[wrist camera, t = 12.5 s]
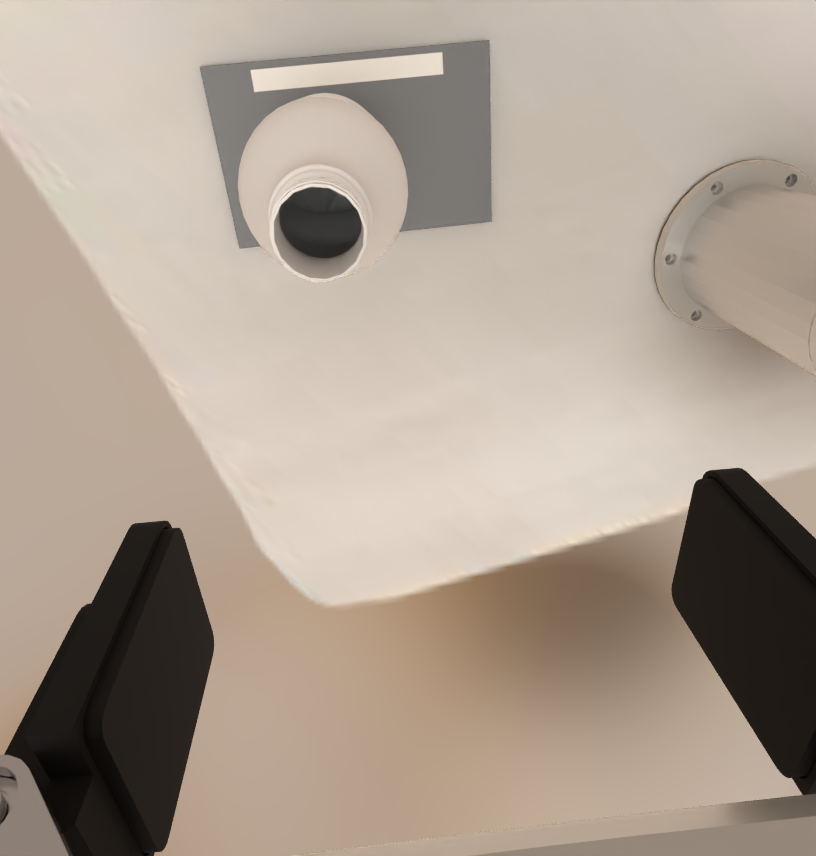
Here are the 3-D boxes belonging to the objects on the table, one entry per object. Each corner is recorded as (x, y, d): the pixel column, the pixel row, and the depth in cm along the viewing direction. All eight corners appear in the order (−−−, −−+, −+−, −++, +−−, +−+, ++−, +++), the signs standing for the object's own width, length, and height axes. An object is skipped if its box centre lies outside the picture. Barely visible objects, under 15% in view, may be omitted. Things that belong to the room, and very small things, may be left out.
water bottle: (263, 99, 38) (165, 118, 17) (375, 85, 38) (424, 86, 17) (286, 217, 42) (231, 358, 20) (389, 203, 42) (443, 329, 20)
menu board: (487, 40, 38) (489, 40, 38) (489, 219, 44) (491, 221, 43) (201, 67, 38) (199, 67, 37) (240, 246, 43) (239, 248, 42)
